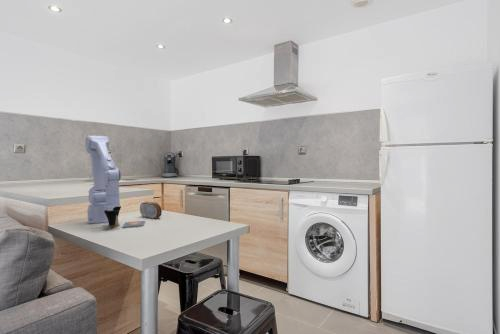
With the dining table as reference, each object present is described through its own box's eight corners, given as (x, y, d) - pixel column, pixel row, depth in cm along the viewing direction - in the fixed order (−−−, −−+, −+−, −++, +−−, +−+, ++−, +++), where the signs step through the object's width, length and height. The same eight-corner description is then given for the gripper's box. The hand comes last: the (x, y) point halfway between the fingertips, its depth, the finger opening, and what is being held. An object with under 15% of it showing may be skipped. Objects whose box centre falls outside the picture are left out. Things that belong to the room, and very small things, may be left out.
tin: (162, 218, 148) (161, 202, 148) (157, 219, 145) (157, 203, 145) (143, 216, 156) (143, 200, 156) (139, 217, 153) (138, 201, 153)
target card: (122, 228, 128) (122, 226, 128) (125, 223, 138) (125, 221, 138) (143, 226, 131) (143, 224, 131) (144, 221, 141) (144, 220, 140)
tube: (108, 228, 129) (107, 217, 129) (109, 226, 133) (109, 215, 133) (117, 227, 130) (117, 216, 130) (118, 225, 134) (118, 215, 134)
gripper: (106, 193, 137) (107, 221, 137) (99, 197, 123) (100, 227, 124) (121, 192, 139) (122, 219, 140) (117, 196, 125) (118, 226, 126)
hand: (113, 223), depth 132 cm, fingers open, 7 cm apart
